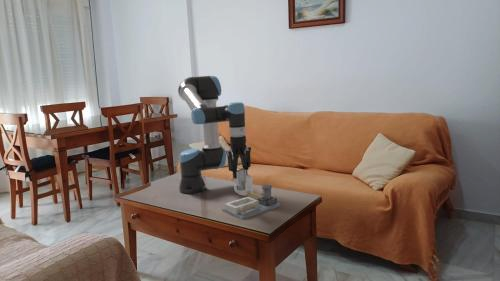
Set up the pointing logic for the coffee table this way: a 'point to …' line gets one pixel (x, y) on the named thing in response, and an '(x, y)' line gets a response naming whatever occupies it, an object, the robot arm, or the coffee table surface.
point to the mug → (247, 186)
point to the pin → (241, 179)
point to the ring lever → (260, 198)
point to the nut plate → (250, 205)
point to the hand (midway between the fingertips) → (240, 183)
